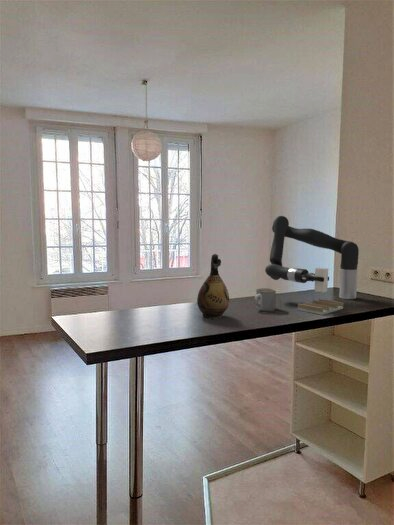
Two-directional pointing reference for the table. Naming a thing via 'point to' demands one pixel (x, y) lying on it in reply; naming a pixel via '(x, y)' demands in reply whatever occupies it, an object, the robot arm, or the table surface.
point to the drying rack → (321, 306)
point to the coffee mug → (265, 299)
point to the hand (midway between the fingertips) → (326, 279)
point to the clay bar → (321, 285)
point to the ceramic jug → (213, 293)
